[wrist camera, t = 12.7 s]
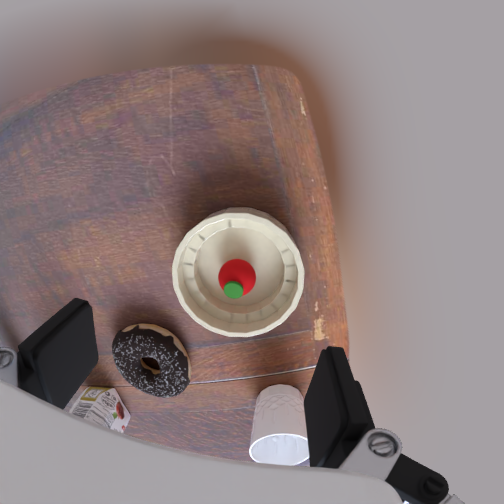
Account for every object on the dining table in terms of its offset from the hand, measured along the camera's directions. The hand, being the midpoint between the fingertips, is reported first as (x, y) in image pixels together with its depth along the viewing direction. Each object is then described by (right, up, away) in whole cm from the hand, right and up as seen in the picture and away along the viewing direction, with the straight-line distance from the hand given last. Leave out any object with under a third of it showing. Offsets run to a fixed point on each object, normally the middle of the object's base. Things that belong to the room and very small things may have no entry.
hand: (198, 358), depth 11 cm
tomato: (+1, +2, +22) cm, 23 cm away
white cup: (+6, -17, +29) cm, 34 cm away
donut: (-11, -10, +28) cm, 32 cm away
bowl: (+1, +3, +23) cm, 23 cm away
